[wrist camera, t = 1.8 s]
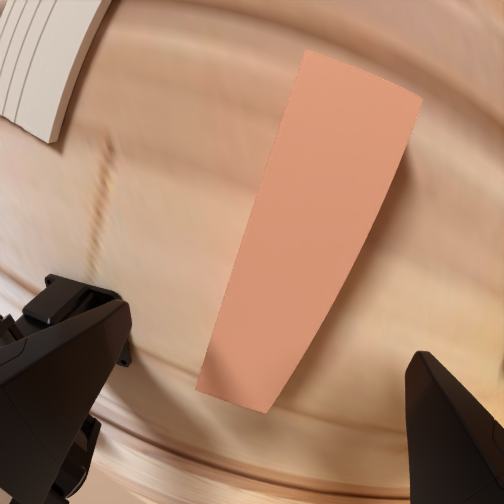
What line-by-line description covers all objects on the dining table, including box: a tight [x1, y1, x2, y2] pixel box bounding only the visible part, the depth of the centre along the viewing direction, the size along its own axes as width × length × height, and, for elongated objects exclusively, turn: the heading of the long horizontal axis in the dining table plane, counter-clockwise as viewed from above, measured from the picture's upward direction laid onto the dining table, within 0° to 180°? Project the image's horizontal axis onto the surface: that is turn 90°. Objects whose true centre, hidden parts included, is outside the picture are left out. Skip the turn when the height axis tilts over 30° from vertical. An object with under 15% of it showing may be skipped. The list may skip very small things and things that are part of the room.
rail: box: [195, 50, 423, 414], centre depth 13 cm, size 16×4×4 cm, turn 163°
